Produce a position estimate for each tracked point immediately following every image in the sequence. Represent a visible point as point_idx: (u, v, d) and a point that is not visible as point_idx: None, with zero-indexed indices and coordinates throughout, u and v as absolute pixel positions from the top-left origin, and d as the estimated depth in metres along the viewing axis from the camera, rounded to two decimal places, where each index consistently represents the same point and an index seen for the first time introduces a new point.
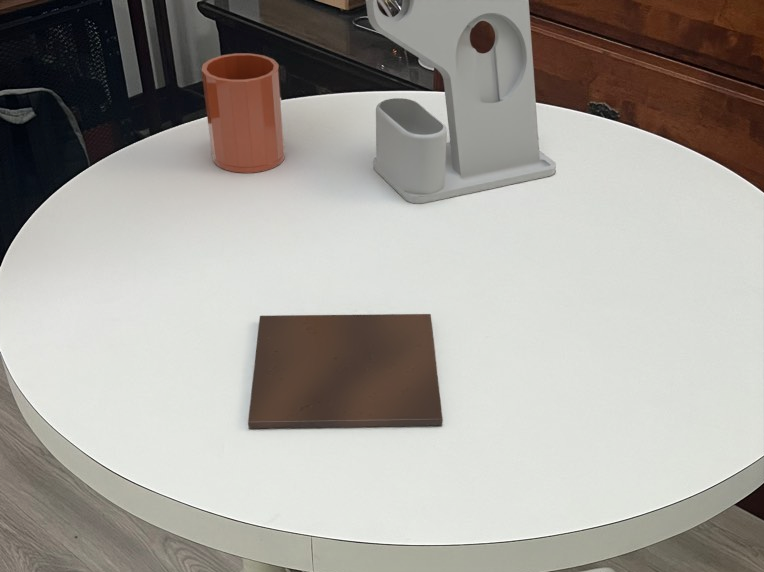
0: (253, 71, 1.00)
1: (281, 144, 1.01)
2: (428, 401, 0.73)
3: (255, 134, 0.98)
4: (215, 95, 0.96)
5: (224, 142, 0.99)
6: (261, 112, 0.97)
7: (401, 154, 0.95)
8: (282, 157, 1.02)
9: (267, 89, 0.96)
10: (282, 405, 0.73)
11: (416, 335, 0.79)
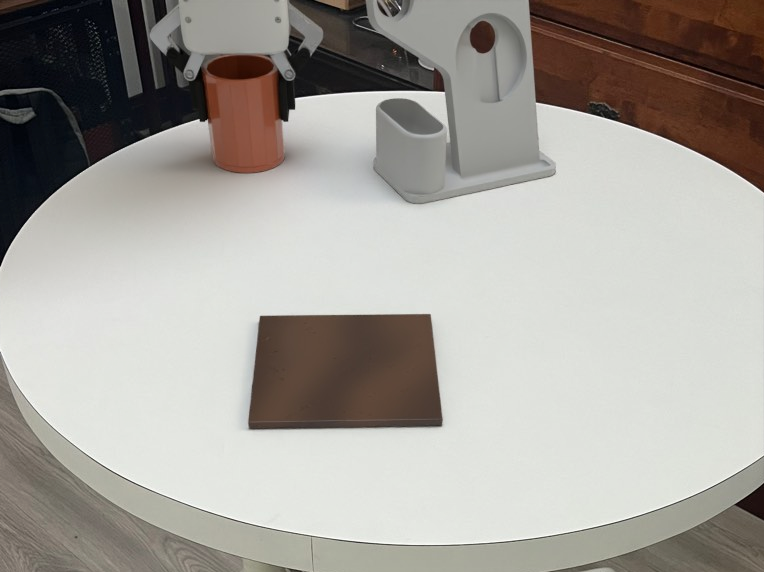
0: (253, 71, 1.00)
1: (281, 144, 1.01)
2: (428, 401, 0.73)
3: (255, 134, 0.98)
4: (216, 95, 0.96)
5: (224, 142, 0.99)
6: (261, 112, 0.97)
7: (401, 154, 0.95)
8: (282, 157, 1.02)
9: (267, 89, 0.96)
10: (282, 405, 0.73)
11: (416, 335, 0.79)
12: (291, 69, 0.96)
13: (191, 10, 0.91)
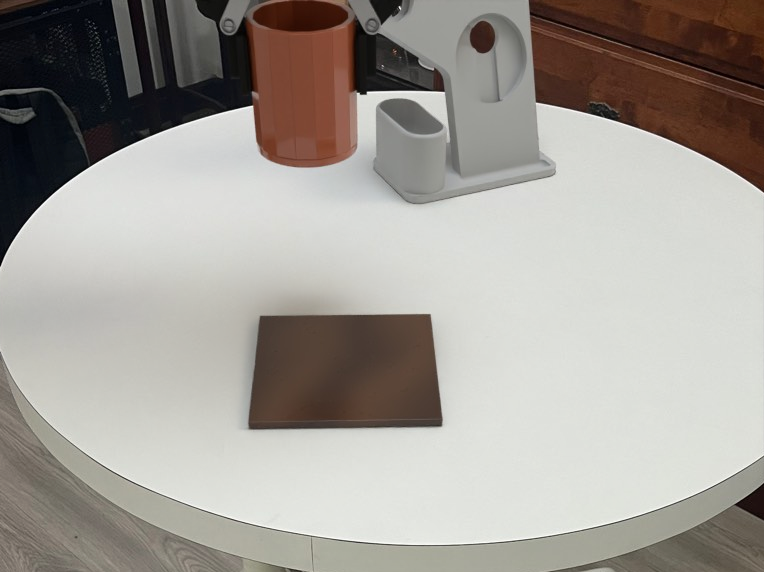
0: (316, 24, 0.71)
1: (355, 127, 0.72)
2: (428, 401, 0.73)
3: (322, 112, 0.69)
4: (267, 55, 0.66)
5: (277, 124, 0.69)
6: (331, 80, 0.67)
7: (401, 154, 0.95)
8: (355, 145, 0.73)
9: (341, 46, 0.66)
10: (282, 405, 0.73)
11: (416, 335, 0.79)
12: (375, 17, 0.66)
13: None
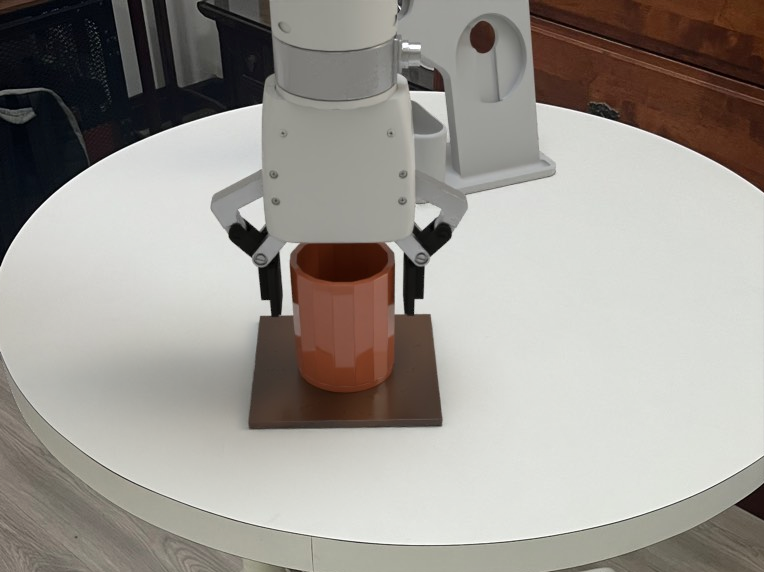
0: (356, 256, 0.73)
1: (392, 352, 0.74)
2: (428, 401, 0.73)
3: (361, 347, 0.71)
4: (310, 300, 0.69)
5: (317, 356, 0.72)
6: (371, 320, 0.70)
7: None
8: (392, 366, 0.76)
9: (381, 291, 0.69)
10: (282, 405, 0.73)
11: (416, 335, 0.79)
12: (424, 252, 0.69)
13: (280, 189, 0.64)
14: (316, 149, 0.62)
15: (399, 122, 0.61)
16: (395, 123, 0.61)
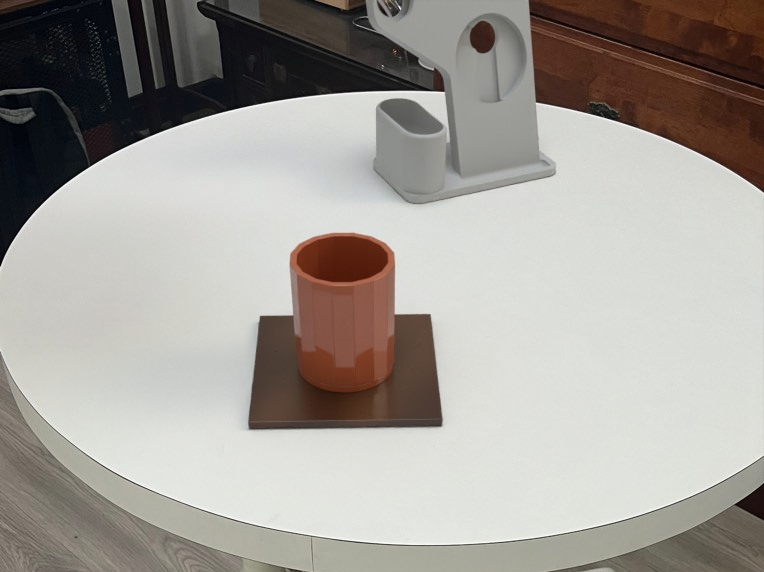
0: (356, 256, 0.73)
1: (392, 352, 0.74)
2: (428, 401, 0.73)
3: (361, 347, 0.71)
4: (310, 300, 0.69)
5: (317, 356, 0.72)
6: (371, 320, 0.70)
7: (401, 154, 0.95)
8: (392, 366, 0.76)
9: (381, 291, 0.69)
10: (282, 405, 0.73)
11: (416, 335, 0.79)
12: None
13: None
14: None
15: None
16: None
